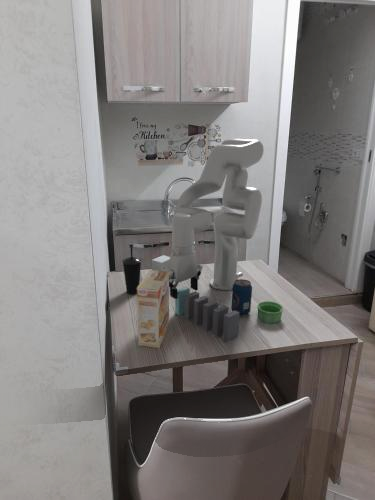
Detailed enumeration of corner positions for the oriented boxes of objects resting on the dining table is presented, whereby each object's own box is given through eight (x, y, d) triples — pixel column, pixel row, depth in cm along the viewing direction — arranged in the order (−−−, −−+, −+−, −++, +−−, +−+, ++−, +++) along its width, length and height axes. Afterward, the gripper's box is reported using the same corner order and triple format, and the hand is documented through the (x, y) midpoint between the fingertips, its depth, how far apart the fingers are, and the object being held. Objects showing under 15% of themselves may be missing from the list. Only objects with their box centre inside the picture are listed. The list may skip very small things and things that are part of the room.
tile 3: (203, 318, 130) (204, 295, 127) (207, 321, 129) (208, 297, 126) (193, 323, 127) (193, 299, 124) (197, 325, 126) (197, 301, 123)
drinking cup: (137, 297, 146) (135, 249, 140) (120, 294, 148) (117, 246, 142) (145, 289, 153) (144, 243, 147) (128, 286, 155) (127, 241, 149)
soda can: (227, 310, 137) (229, 280, 133) (244, 307, 139) (246, 277, 136) (236, 318, 131) (238, 287, 127) (253, 315, 133) (256, 284, 129)
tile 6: (233, 334, 121) (234, 310, 118) (237, 337, 119) (239, 312, 116) (222, 340, 117) (223, 315, 115) (227, 343, 116) (228, 317, 113)
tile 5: (222, 329, 124) (224, 305, 121) (227, 331, 122) (228, 307, 120) (212, 334, 121) (213, 309, 118) (216, 337, 119) (217, 311, 116)
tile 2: (194, 314, 134) (195, 291, 131) (198, 316, 132) (199, 293, 129) (184, 318, 130) (184, 295, 128) (188, 320, 129) (188, 297, 126)
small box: (163, 276, 166) (163, 254, 163) (173, 279, 163) (173, 257, 160) (151, 282, 160) (151, 259, 157) (161, 285, 157) (161, 262, 153)
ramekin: (268, 326, 126) (269, 315, 125) (251, 315, 133) (251, 304, 132) (287, 320, 131) (288, 308, 129) (269, 309, 138) (270, 299, 136)
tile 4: (213, 324, 127) (214, 300, 124) (217, 326, 126) (218, 302, 123) (202, 328, 124) (203, 304, 121) (206, 331, 122) (207, 306, 120)
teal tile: (185, 309, 137) (186, 286, 134) (189, 311, 136) (189, 288, 133) (175, 313, 134) (175, 290, 131) (178, 315, 133) (179, 292, 130)
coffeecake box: (159, 348, 113) (159, 289, 106) (137, 346, 114) (135, 287, 108) (170, 324, 127) (170, 270, 120) (149, 322, 128) (148, 269, 122)
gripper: (194, 240, 135) (194, 282, 141) (156, 252, 125) (158, 297, 131) (209, 245, 130) (208, 289, 136) (171, 258, 119) (172, 305, 125)
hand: (184, 293), depth 133 cm, fingers open, 9 cm apart
